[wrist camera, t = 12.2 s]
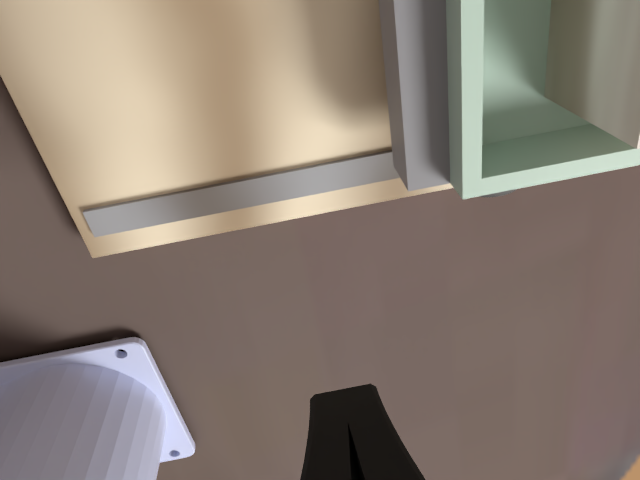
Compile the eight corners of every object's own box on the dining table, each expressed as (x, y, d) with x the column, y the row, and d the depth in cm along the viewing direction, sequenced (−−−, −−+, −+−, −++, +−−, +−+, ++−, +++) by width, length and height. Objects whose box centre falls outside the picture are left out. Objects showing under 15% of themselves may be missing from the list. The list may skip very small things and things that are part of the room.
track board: (100, 243, 18) (64, 312, 15) (-72, -111, 13) (-194, -129, 9) (727, 120, 18) (832, 162, 15) (847, -292, 13) (1063, -376, 9)
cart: (390, 186, 17) (420, 245, 14) (355, -163, 12) (390, -201, 9) (712, 123, 17) (819, 168, 14) (815, -253, 12) (1024, -325, 8)
